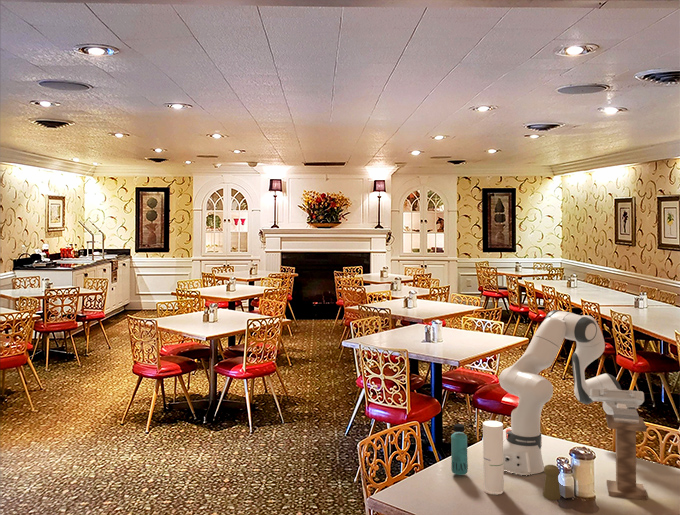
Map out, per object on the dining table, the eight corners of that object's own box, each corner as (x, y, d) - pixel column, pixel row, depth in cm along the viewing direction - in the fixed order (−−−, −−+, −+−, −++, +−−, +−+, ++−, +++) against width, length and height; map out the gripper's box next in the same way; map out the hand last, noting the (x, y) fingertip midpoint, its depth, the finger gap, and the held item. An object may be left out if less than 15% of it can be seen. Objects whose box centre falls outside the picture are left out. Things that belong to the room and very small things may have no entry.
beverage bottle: (449, 477, 221) (448, 426, 221) (453, 471, 227) (452, 421, 227) (466, 479, 219) (465, 428, 218) (469, 473, 225) (468, 423, 224)
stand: (609, 496, 202) (608, 424, 201) (606, 482, 213) (605, 414, 213) (647, 501, 198) (646, 427, 197) (642, 487, 209) (641, 417, 208)
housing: (613, 422, 203) (613, 413, 203) (609, 407, 220) (609, 400, 220) (639, 424, 201) (638, 415, 200) (632, 409, 217) (632, 401, 217)
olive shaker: (562, 500, 200) (562, 469, 200) (544, 499, 201) (543, 468, 201) (559, 493, 206) (558, 463, 205) (541, 492, 207) (541, 462, 207)
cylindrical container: (490, 485, 214) (489, 419, 213) (507, 490, 209) (506, 423, 208) (480, 491, 209) (478, 423, 208) (497, 497, 204) (496, 428, 203)
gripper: (588, 390, 247) (589, 381, 236) (641, 393, 240) (644, 384, 229) (588, 405, 245) (590, 396, 233) (642, 408, 237) (646, 400, 226)
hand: (617, 390), depth 231 cm, fingers open, 8 cm apart
